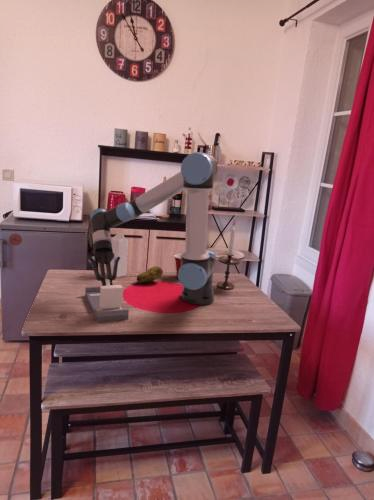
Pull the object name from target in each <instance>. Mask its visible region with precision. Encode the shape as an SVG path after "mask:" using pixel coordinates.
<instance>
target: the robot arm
mask: <svg viewBox="0 0 374 500" xmlns="http://www.w3.org/2000/svg"><path fill="white" fill-rule="evenodd" d="M217 172H218V161H217V160H216V158H215V157H214V156H213V155H211V154H210V153H207V152H203V151H202V152H201V151H198V152H197V151H194V152H192V153H190V154H188V155H187V156H185V157H184V159H183V160H182V163H181V165H180V171H179V172H177V173H176V174H174V175H172V176H171V177H169V178H167V179H165V180H164V181H163V182H161V183H159V184H158V185H156V186H154V187H152V188H151V189H149V190H147V191H146V192H144V193H142V194H140V195H138V196H137V197H136V198H134V199H132V200H131V201H128V202H127V201H126V202H123V203H118V205H116V206H114V207H111V208H110V209H108V210H106V209H105V208H95V209H93V210H92V211H91V212H90V220H89V222H90V227H91V232H92V235H91V236H92V244H93V256H90V257H89V258H88V261H87V262H88V263H89V264H90V266H91V268H92V271H93V273H94V275H95V279H96V281H97V282H99V281H100V282H101V286H109V285H114V284H113V281H115V280H116V278H117V277H116V275H117V268H118V262H119V260H120V257H116V256H114V253H113V250H112V237H111V236H112V235H111V229H112V228H115V227H117V226H120V225H122V224H124V223H126V222H127V223H128V222H129V221H131V220H134V219H138V218H139V217H140V216H142V215H143V214H145V213H147V212H148V211H151V210H152V209H154V208H156V207H157V206H159V205H160V204H162V203H164V202H166V201H168V200H169V199H171V198H173V197H175V196H176V195H178V194H179V193H182V192H184V191H185V192H186V209H185V211H186V213H185V215H186V217H185V244H184V251H183V252H182V253H181V254H182V255H181V267H180V269H179V272H178V277H177V278H178V281H179V284H180V285H182V287H183V289H182V290H181V295H180V298H181V299H182V300H183V301H184V302H186V303H188V304H193V305H199V306H200V305H201V306H202V305H203V306H206V305H210V304H212V303H214V301H215V292H214V287H213V279H214V273H215V264H216V260H217V259H216V253H215V252H214V251H212V250H207V243H208V242H207V240H208V237H207V236H208V220H209V219H208V218H209V217H208V216H209V198H210V197H209V196H210V195H209V194H210V192H212V190H213V189H214V178H215V176H216V175H217ZM112 259H114V262H115V263H114V268H113V275H112V273H111V266H110V264H111V261H112ZM96 262H97V263H96ZM97 264H99V268H98V265H97ZM105 268H106V270H105ZM106 276H107V279H106Z"/></svg>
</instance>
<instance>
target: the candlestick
mask: <svg viewBox="0 0 374 500" xmlns="http://www.w3.org/2000/svg"><path fill="white" fill-rule="evenodd" d="M233 220H234V221H233V223H232V224H233V226H232V227H231V230H230V239H229V245H228V251H227V253H226V254H225V255H226V256H219V257H218V258H217V261H218V262H219V263H221V264H224V265H226V270H225V271H224V274H225V276H224V277H223V278H224V281H219V282H216V287H217V288H219V289H220V290H225V291H226V290H228V291H231V290H234V289H235V284H233V283H232V282H228V281H229V278H230V276H229V275H230V274H231V272H230V267H231V266H236V265H237V266H238V265H239V264H240V263H241V260H240V259H238V258H236V257H233V256H235V255H234V254H233V247H234V241H235V233H236V227H235V225H236V220H235V219H233Z"/></svg>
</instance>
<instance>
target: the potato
mask: <svg viewBox="0 0 374 500" xmlns="http://www.w3.org/2000/svg"><path fill="white" fill-rule="evenodd" d="M163 272H164V271H163V269H162V268H161V267H159V266H157V265H156V266H152V267H150V268H148V269H147V270H146V271H143V272H141V273H140V274H138V275H137V276H136V281H137V282H138V283H140V284H143V283H151V282H154V281H156V280H158V279H162V276H163Z"/></svg>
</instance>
